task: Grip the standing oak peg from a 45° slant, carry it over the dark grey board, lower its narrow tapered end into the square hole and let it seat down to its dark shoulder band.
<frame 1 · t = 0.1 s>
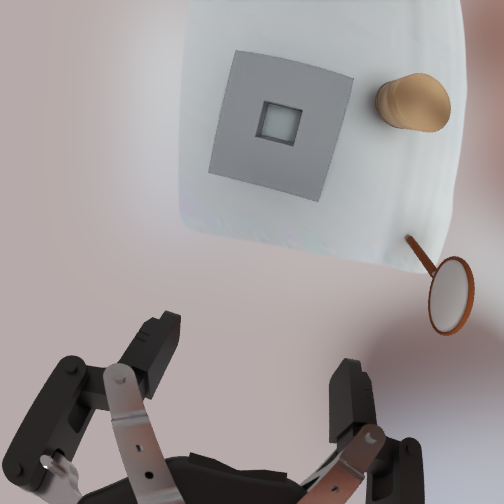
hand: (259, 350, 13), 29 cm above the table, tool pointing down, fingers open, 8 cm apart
peg: (386, 105, 30), on the table
magnifying glass: (407, 236, 38), on the table
board: (281, 122, 34), on the table
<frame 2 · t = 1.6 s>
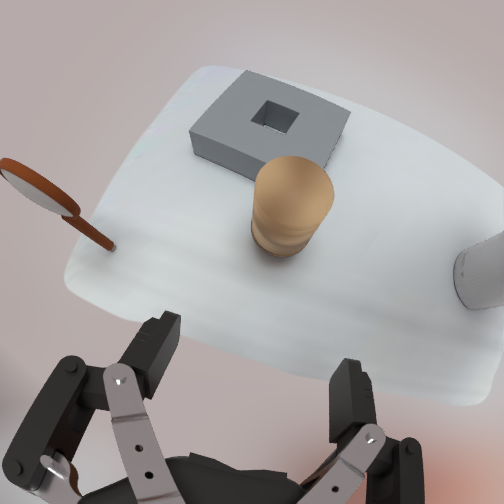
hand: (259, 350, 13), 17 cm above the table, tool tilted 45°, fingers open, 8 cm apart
peg: (275, 243, 32), on the table
magnifying glass: (113, 248, 31), on the table
board: (272, 140, 36), on the table
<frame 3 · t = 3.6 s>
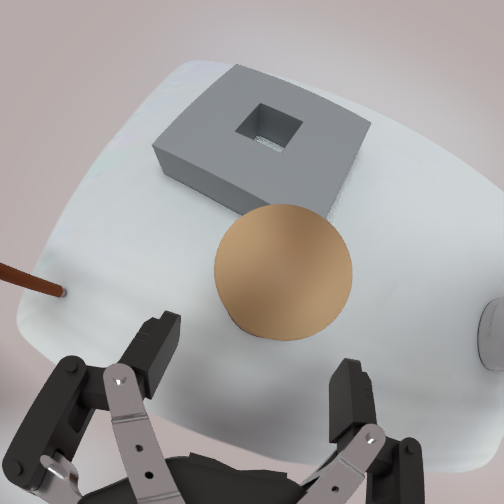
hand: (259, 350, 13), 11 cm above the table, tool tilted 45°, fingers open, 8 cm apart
peg: (262, 302, 24), on the table
magnifying glass: (65, 293, 23), on the table
board: (265, 157, 28), on the table
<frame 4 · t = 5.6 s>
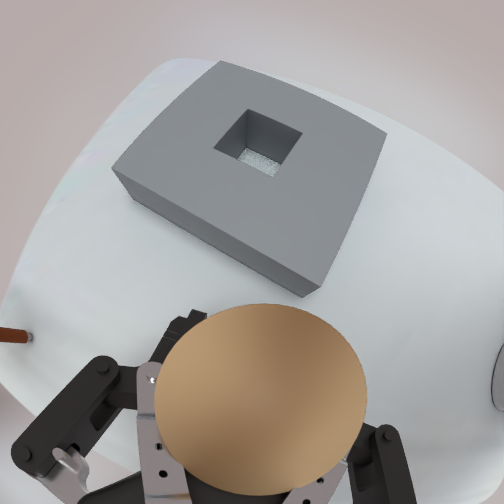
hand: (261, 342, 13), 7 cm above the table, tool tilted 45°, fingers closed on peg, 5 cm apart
peg: (248, 361, 19), on the table, touching gripper
magnifying glass: (31, 337, 18), on the table
board: (255, 176, 23), on the table
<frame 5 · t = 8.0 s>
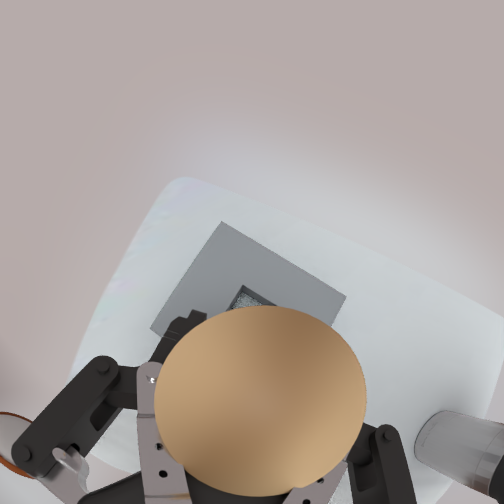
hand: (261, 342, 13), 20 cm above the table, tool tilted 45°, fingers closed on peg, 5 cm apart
peg: (248, 362, 19), point 13 cm above the table, touching gripper
magnifying glass: (94, 411, 28), on the table
board: (248, 317, 33), on the table
when the fingers open (10 cm above the table, at t = 10.5 s): peg drops 3 cm, resting on board.
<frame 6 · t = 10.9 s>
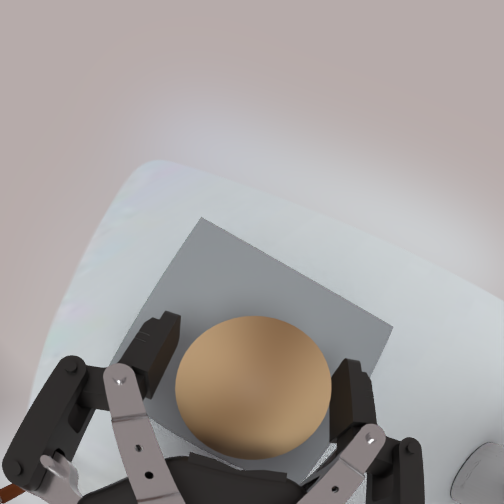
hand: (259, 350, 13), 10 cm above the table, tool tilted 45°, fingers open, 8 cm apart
peg: (246, 359, 22), resting on board
magnifying glass: (59, 464, 17), on the table
board: (247, 358, 22), on the table
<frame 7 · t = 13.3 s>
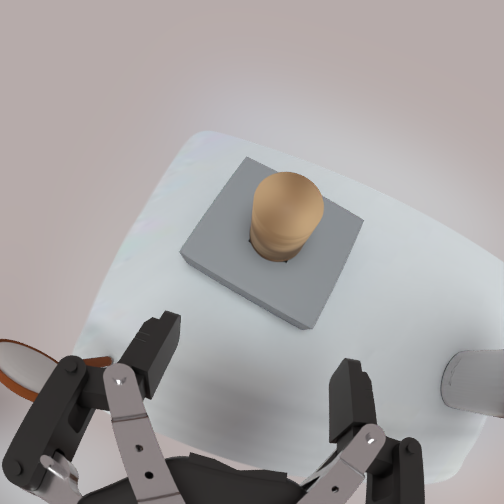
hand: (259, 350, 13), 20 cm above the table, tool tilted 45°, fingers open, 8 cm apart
peg: (272, 249, 35), resting on board
magnifying glass: (111, 360, 30), on the table
board: (272, 248, 35), on the table
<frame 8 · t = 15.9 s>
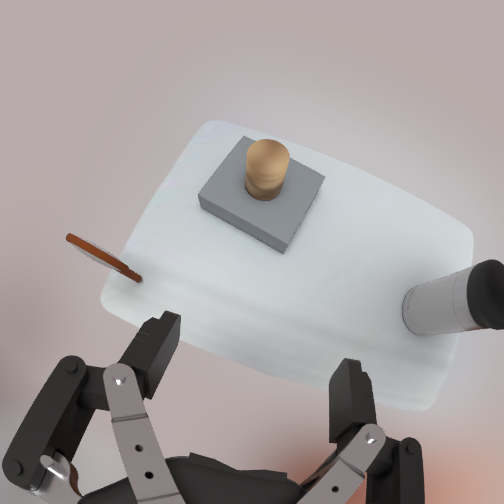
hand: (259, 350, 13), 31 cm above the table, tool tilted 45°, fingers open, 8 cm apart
peg: (261, 198, 49), resting on board
magnifying glass: (140, 280, 44), on the table
board: (261, 198, 49), on the table
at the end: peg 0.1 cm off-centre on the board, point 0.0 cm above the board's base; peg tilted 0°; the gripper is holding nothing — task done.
